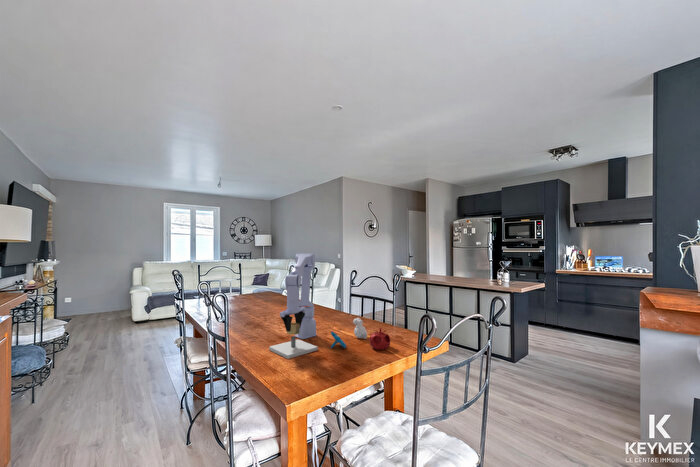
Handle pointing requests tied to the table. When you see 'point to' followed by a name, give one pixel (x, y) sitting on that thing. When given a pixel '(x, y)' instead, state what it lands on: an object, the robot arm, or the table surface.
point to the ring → (294, 329)
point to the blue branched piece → (337, 340)
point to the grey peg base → (293, 348)
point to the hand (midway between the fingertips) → (293, 329)
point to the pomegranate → (379, 340)
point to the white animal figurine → (359, 329)
